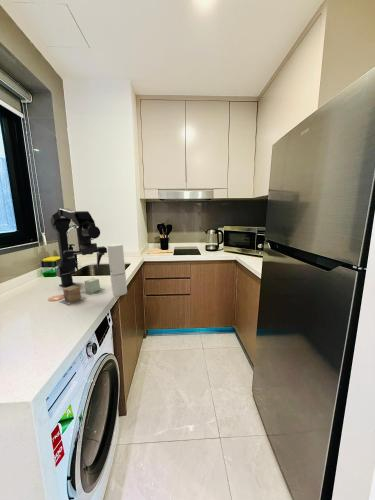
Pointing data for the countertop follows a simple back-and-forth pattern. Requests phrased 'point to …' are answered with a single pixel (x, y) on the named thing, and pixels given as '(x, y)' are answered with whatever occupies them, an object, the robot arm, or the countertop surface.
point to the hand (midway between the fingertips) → (88, 268)
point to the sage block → (92, 285)
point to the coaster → (56, 298)
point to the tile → (72, 302)
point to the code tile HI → (92, 293)
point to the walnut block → (72, 294)
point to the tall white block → (117, 269)
